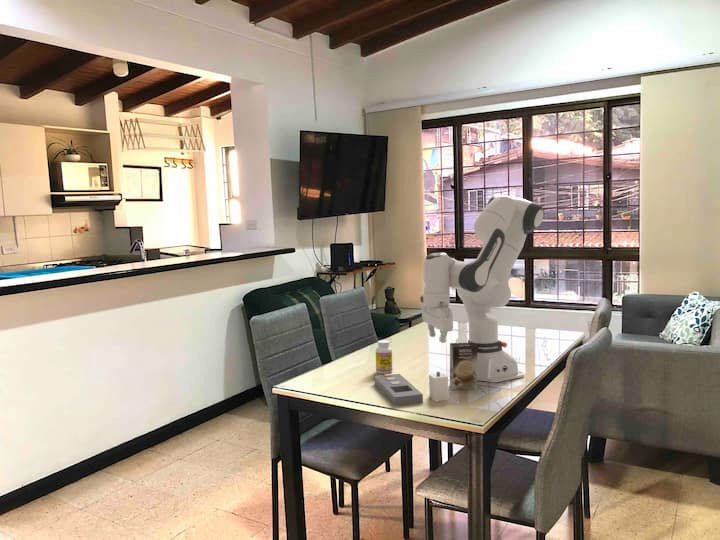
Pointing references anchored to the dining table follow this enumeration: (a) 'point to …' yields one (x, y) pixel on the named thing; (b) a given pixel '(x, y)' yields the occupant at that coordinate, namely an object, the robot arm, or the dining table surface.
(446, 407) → the dining table surface
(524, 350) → the dining table surface
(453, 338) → the dining table surface
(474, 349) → the coffee box
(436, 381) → the block
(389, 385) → the power strip
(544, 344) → the dining table surface
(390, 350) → the supplement bottle
